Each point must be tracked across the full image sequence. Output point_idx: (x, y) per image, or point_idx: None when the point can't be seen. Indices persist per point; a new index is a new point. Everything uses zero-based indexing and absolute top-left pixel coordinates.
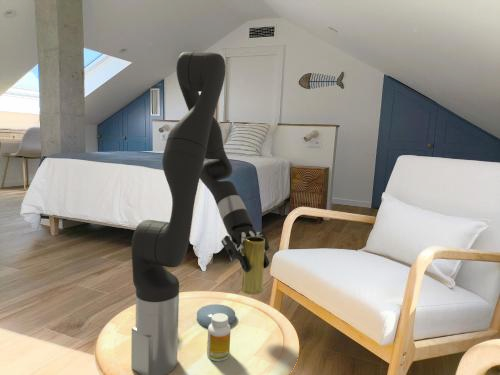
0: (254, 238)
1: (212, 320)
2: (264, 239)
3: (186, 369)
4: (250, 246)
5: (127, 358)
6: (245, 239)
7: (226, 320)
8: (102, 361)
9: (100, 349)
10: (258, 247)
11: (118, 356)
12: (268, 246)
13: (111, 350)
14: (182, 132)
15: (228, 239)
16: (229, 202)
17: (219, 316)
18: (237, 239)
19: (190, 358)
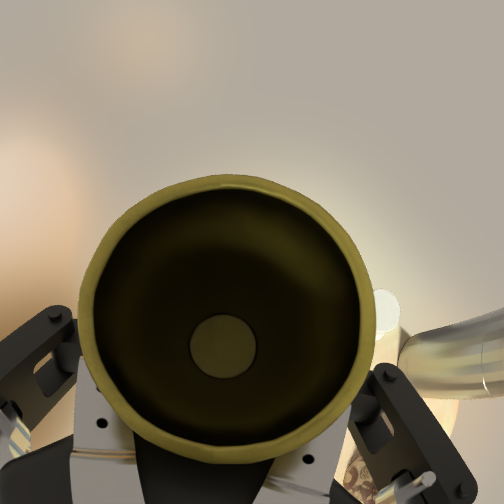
0: (135, 406)
1: (399, 313)
2: (134, 210)
3: (397, 326)
4: (335, 291)
5: (439, 400)
6: (330, 419)
7: (376, 289)
8: (457, 408)
9: (449, 437)
10: (274, 226)
11: (444, 410)
12: (42, 316)
13: (443, 429)
14: None
15: (454, 474)
16: None
17: (382, 314)
18: (352, 497)
19: (380, 348)
